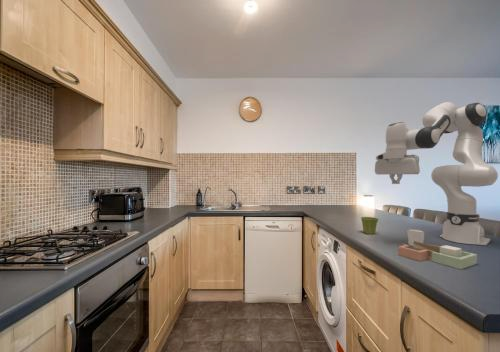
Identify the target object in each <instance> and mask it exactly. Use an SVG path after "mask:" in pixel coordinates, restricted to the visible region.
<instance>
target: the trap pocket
mask: <svg viewBox="0 0 500 352" xmlns="http://www.w3.org/2000/svg"><path fill="white" fill-rule="evenodd" d="M408 245H409V244H407V245H403V246H401V245H400V246H398V250H397V251H398V252H397V253H398V256H400V257H404V258H408V259H411V260H413V261H419V262H422V261H426V260H428V250H421V251H419V250H415V249H414V248H410V249H409V246H408Z"/></svg>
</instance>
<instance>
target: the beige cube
mask: <svg viewBox="0 0 500 352" xmlns="http://www.w3.org/2000/svg"><path fill="white" fill-rule="evenodd" d="M406 232H407V234H406V235H407V240H408V241H407V242H408V244H407V245H410V247H411V246H412V247H414V241H417V242H421V243H424V239H425V238H424V237H425V230H421V229H415V228H412V229H411V228H408V229H406Z"/></svg>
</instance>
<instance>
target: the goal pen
mask: <svg viewBox="0 0 500 352" xmlns="http://www.w3.org/2000/svg"><path fill="white" fill-rule="evenodd" d="M430 261H431V262H434V263H438V264H440V265H444V266H448V267H452V268H454V269H458V270H463V269H466V268H469V267H471V266H475V265H477V264H478V254H477V253H472V252H468V251H464V250H462V257H460V258H457V257H453V256H449V255H445V254H441V253H437V252H432V260H430Z"/></svg>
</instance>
